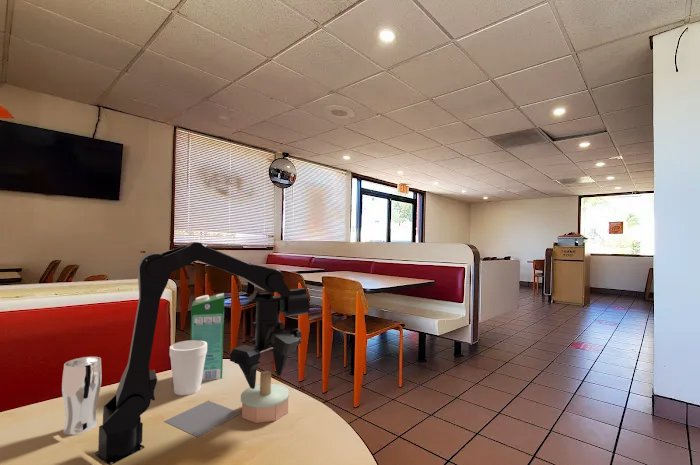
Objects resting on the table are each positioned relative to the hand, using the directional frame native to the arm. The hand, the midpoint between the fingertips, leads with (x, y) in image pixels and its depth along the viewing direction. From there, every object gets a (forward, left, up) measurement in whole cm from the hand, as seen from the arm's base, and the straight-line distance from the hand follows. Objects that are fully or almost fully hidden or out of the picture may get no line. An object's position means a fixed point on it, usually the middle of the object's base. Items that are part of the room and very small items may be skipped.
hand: (266, 381), depth 86 cm
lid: (0, 0, -4) cm, 4 cm away
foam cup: (-3, +26, -8) cm, 27 cm away
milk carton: (+7, +31, -8) cm, 33 cm away
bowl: (0, 0, -8) cm, 8 cm away
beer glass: (-27, +29, -8) cm, 40 cm away
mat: (-10, +10, -8) cm, 16 cm away
